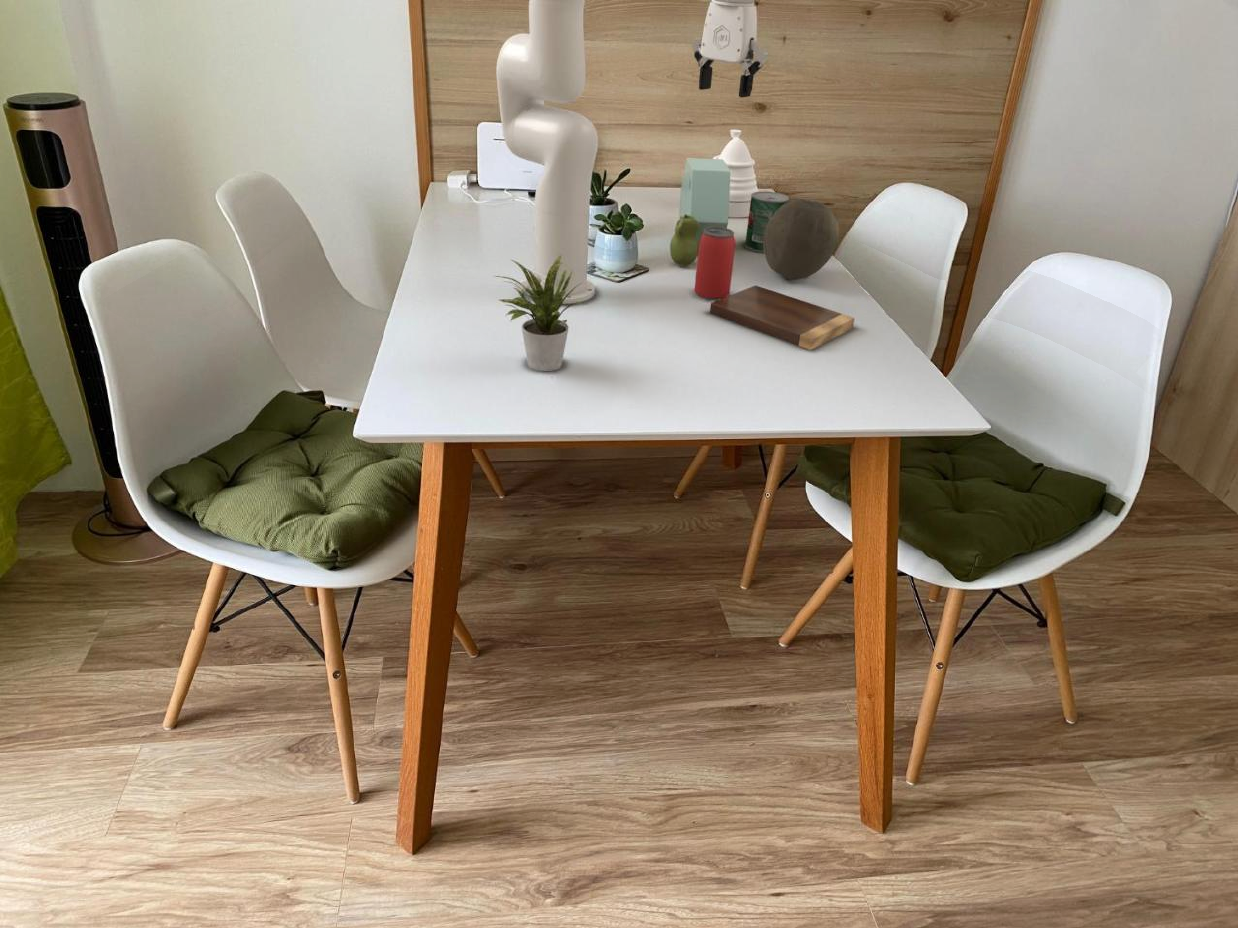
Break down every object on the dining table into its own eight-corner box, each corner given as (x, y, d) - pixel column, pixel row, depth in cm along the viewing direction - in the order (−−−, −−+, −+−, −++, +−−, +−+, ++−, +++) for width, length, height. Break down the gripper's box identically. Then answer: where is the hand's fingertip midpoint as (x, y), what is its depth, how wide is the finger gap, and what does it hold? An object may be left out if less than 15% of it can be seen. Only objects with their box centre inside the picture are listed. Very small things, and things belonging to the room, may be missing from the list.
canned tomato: (742, 240, 200) (748, 190, 194) (777, 242, 200) (784, 192, 195) (747, 252, 193) (754, 200, 187) (784, 253, 194) (792, 202, 188)
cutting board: (810, 350, 150) (812, 339, 149) (709, 313, 162) (710, 303, 161) (852, 328, 160) (854, 317, 159) (753, 295, 171) (755, 285, 170)
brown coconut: (810, 295, 173) (823, 216, 165) (746, 276, 180) (756, 200, 172) (842, 277, 183) (856, 202, 175) (780, 260, 190) (791, 187, 182)
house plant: (508, 338, 148) (507, 239, 139) (592, 346, 147) (596, 247, 138) (488, 375, 136) (485, 270, 127) (579, 384, 135) (583, 279, 126)
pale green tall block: (715, 270, 196) (733, 204, 177) (679, 268, 195) (694, 203, 177) (711, 208, 203) (728, 139, 184) (676, 207, 202) (690, 137, 184)
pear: (690, 259, 187) (694, 211, 182) (700, 268, 183) (706, 219, 177) (665, 261, 185) (669, 212, 180) (675, 270, 181) (679, 220, 176)
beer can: (707, 285, 174) (714, 223, 168) (735, 294, 171) (744, 232, 164) (687, 294, 170) (693, 230, 163) (716, 303, 166) (723, 239, 160)
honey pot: (696, 202, 225) (704, 126, 215) (746, 202, 227) (756, 127, 218) (710, 217, 214) (719, 138, 205) (762, 217, 216) (773, 139, 207)
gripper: (686, -8, 173) (678, 88, 182) (761, 1, 164) (749, 101, 173) (709, -9, 178) (700, 84, 187) (784, 0, 169) (771, 98, 178)
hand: (724, 93), depth 180 cm, fingers open, 9 cm apart
